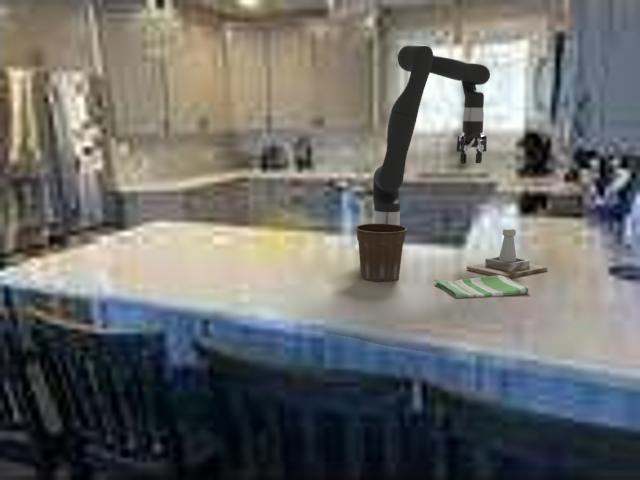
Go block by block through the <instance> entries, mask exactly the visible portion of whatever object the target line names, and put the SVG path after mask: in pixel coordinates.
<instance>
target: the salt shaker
mask: <svg viewBox="0 0 640 480" xmlns="http://www.w3.org/2000/svg"><path fill="white" fill-rule="evenodd" d="M516 233H517V232H516V229H515V228H511V227H506V228H505V227H504V228H503V229H502V236H503V241H502V244H501V247H500V251H499V252H500V253H499V256H498V257H499V261H502V262H506V263H514V262H516V258H517V255H516V245H515V236H516Z"/></svg>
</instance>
